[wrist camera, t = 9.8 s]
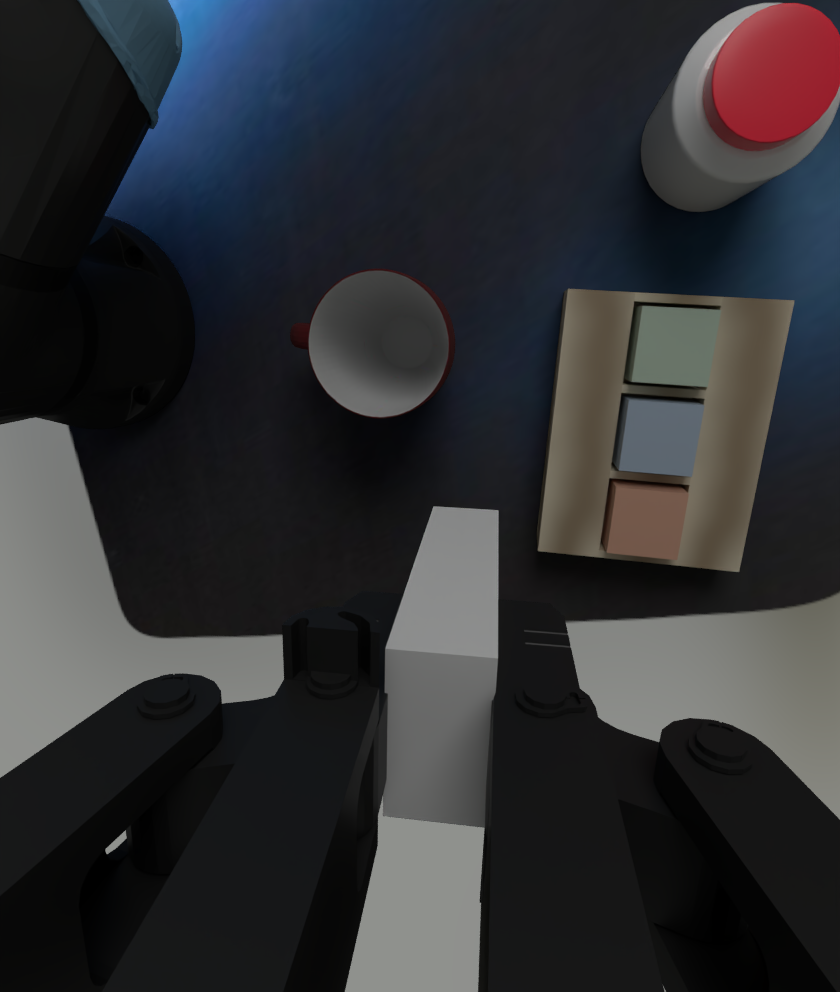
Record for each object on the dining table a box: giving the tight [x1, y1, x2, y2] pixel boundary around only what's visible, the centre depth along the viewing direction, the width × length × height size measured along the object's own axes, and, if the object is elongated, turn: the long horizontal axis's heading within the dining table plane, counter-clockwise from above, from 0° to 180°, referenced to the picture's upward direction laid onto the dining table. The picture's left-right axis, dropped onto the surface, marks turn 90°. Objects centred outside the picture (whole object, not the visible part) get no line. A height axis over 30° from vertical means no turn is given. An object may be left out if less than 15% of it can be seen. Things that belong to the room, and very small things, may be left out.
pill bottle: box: [641, 3, 840, 212], centre depth 33 cm, size 8×8×11 cm
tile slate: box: [612, 395, 705, 477], centre depth 40 cm, size 4×4×3 cm
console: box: [537, 289, 794, 572], centre depth 42 cm, size 13×17×3 cm
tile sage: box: [624, 306, 721, 387], centre depth 39 cm, size 4×4×3 cm
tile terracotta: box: [601, 478, 689, 560], centre depth 42 cm, size 4×4×3 cm
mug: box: [290, 269, 455, 419], centre depth 40 cm, size 11×8×10 cm
